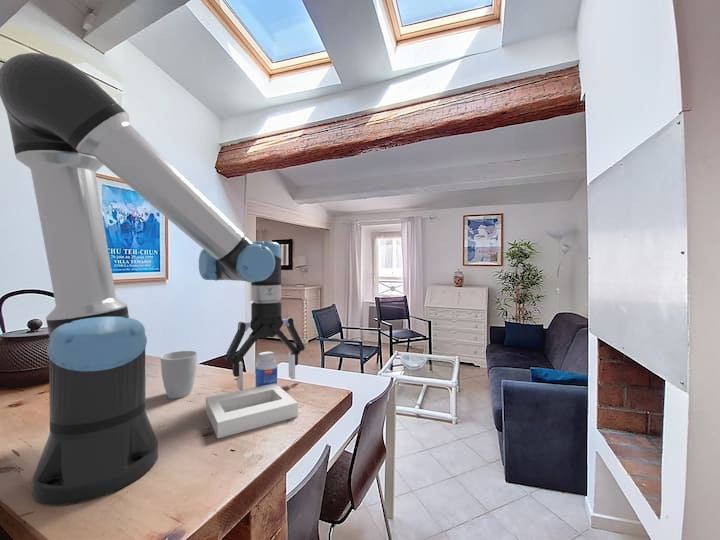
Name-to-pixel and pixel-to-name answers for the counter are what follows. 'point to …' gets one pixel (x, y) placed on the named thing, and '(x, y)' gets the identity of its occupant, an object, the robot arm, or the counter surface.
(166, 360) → the cup
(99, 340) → the robot arm
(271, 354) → the pill bottle
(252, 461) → the counter surface
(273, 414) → the dock
